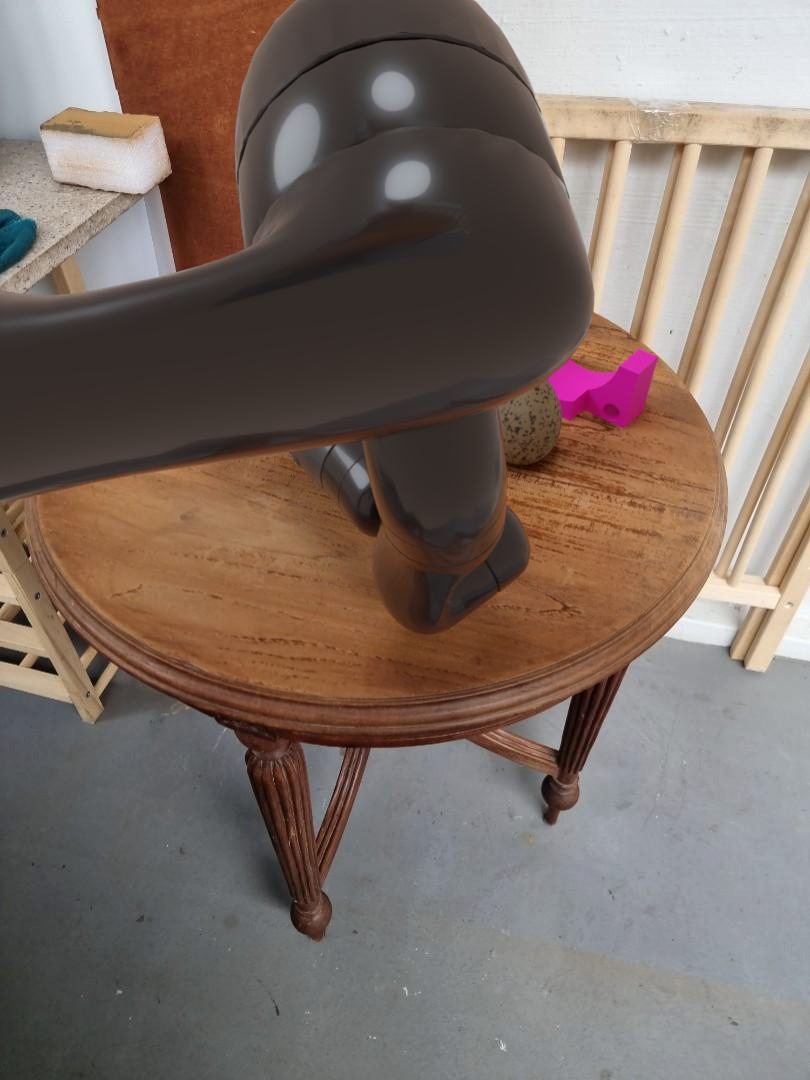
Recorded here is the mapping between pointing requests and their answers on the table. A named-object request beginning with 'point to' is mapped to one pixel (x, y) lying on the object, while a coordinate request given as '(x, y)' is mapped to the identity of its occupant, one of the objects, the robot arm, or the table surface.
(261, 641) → the table surface
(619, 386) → the toy block
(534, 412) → the decorative egg
